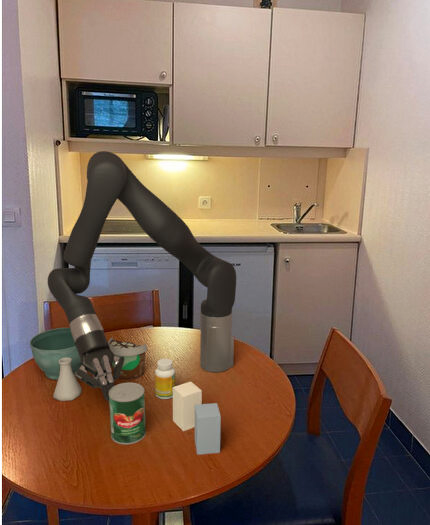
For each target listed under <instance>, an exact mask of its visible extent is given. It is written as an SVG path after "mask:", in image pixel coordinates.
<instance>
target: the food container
mask: <svg viewBox="0 0 430 525" xmlns="http://www.w3.org/2000/svg"><path fill="white" fill-rule="evenodd" d="M108 344H109V347H110V350H111V351H112V352H113V353H114V356H116V357H119V358H120V357H124V359H125V360H124V363H123V366H122V369H121V372H120V375H119V378H118V379H119V380H123V381H131V380H135V379H138V378H140V377H143V376H144V375H145V363H146V362H145V360H146V352H147V351H148V346H147V343H144V344H142V345H140V344H136V343H134V342H130V341H121V340H115V339H114V338H113V336H112V337H110V338H109V340H108ZM115 367H116V366H115V365H114V361H113V363H112V366H111V368H112V372H113V373H114V370H115ZM113 373H112V374H113ZM118 379H117V380H118Z"/></svg>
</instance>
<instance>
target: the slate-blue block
mask: <svg viewBox="0 0 430 525" xmlns="http://www.w3.org/2000/svg"><path fill="white" fill-rule="evenodd" d="M221 420H222V417H221V413H220V409H219V405H218V403H217V402H215V403H202V404H198V405H195V427H194V444H195V450H196V455H209V454H220V453H221Z"/></svg>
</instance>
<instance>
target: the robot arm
mask: <svg viewBox="0 0 430 525" xmlns="http://www.w3.org/2000/svg"><path fill="white" fill-rule="evenodd" d="M86 180H87V183H86V189H85V196H84V200H83V204H82V205H83V206H82V208H81V210H80V214H79V216H78V217H77V220H76V221H75V223H74V226H73V227H72V230H71V232H70V234H69V237H68V240H67V242H66V246H65V249H64V251H63V260H64V261H65V263H67V264H68V265H69V266H72V267H64V268H63V267H62V268H61V267H58V268H54V269H52V270H51V271H50V272H49V273H48V276H47V287H48V290H49V292H50V293H51V295H52V296H53V298H54V300H56V302H57V303H58V305H59V306H60V308H62V310H63V311H64V313H65V317H66V319H67V322H68V325H69V328H70V329H71V334H72V337H73V340H74V342H75V345H76V348H77V351H78V354H79V357H80V359H81V363H80V365H81V367H80V368H79V369H78V370H77V372H76V373H75V377H76V379H78V380H79V381H81V382H82V383H84V384H85V385H87V386H89V387H90V388H92V389H98V388H99V389H100V391H101V392H102V395H103V398H104V400H105V401H107V402H108V403H109V391H110V389H111V388H112V387H114V386H115V382H116V381H117V380H118V378H119V375H120V372H121V369H122V366H123V363H124V360H125V359H124V357H120V358H119V357H116V356H114V353H113V352H112V351H111V350H110V347H109V344H108V342H109V340H108V339H107V337H106V334H105V332H104V327H103V326H102V323H101V321H100V319H99V317H98V315H97V314H96V311H95V308H94V305H93V303H92V301H91V299H90V298H89V297H87V296H84V295H80V294H82V293H84V292H86V291H87V289H88V288H89V287H90V283H91V266H92V264H91V263H92V259H93V257H94V254H95V251H96V249H97V246H98V243H99V239H100V237H101V234H102V232H103V228H104V225H105V223H106V221H107V218H108V216H109V214H110V213H111V210H112V208H113V206H114V205H115V203H116V201H117V200H118V201H119V202H120V203H121V204H122V205H124V207H125V208H126V209H127V210H128V211H129V213H130V215H131V216H132V217H133V219H134V220H135V222H136V223H137V224H138V226H140V228H141V229H142V231H143V232H144V233H145V234H146V235H147V236H148V237H149V238H150V239H152V240H153V242H155V243H156V244H157V245H158V246H160V247H161V248H162V249H163V250H164V251H166V252H167V253H168V254H170V255H171V256H172V257H174V258H175V259H177V260H178V261H180V262H181V263H182V264H183V265H184V266H185V268H187V269H188V270H189V271H190V272H191V274H192V275H193V276H194V277H195V279H196V280H197V281H198V282H199V283H200V284H201V285H202V286H203V287H205V288H207V289H206V293H207V294H206V299H204V300H203V301H201V303H200V346H199V347H200V351H199V352H200V355H199V356H200V357H199V361H200V362H199V363H200V368H201V369H203V370H204V371H206V372H209V373H221V372H225V371H227V370H228V369H230V368H233V367H234V357H235V356H234V350H235V348H234V346H235V344H234V343H235V336H233V335H232V325H233V324H232V323H233V322H232V318H233V307H234V305H235V302H236V289H237V272H236V268H235V267H234V265H233V264H232V263H231V262H229V261H226V260H224V259H222V258H220V257H217V256H216V255H213V253H211V252H210V251H208V250H207V249H206V248H205V247H203V246H202V245H201V244H200V243H199V242H198V240H197V239H196V238H195V236H194V234H193V232H192V231H191V229H190V227H189V226H188V225H187V223H186V222H185V221H184V220H183V219H182V218H181V217H180V216H179V215H178V214H177V213H176V212H175V211H173V209H172V208H170V207H169V205H167V204H166V203H165V202H164V201H162V199H161V198H159V197H158V195H155V194H154V193H153V192H152V191H151V190H150V189H148V188H147V186H145V185H144V183H142V182H141V180H140V179H139V178H137V176H136V175H135V174H134V173H133V172H132V170H131V169H130V168H129V167H128V166H127V164H126V162H124V161H123V159H122V158H121V157H120V156H119V155H117V154H115V153H114V152H111V151H106V150H103V151H97V152H96V153H93V155H91V156H90V158H89V160H88V163H87V167H86ZM113 361H114V365H115V366H116V367H115V370H114V373H112V372H113V370H112V363H113Z"/></svg>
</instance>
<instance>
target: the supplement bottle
mask: <svg viewBox="0 0 430 525" xmlns="http://www.w3.org/2000/svg"><path fill="white" fill-rule="evenodd" d="M173 363H174V362H173V360H172V359H171V358H161V359H159V360H158V361H157V363H156V366H157V368H156V369H155V370H154V380H155V381H154V382H155V383H154V384H155V385H154V387H155V389H154V390H155V396H156V397H157V398H158V399H160V400H169V399H173V387H175V386H176V370H175V367H173V365H174V364H173Z"/></svg>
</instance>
